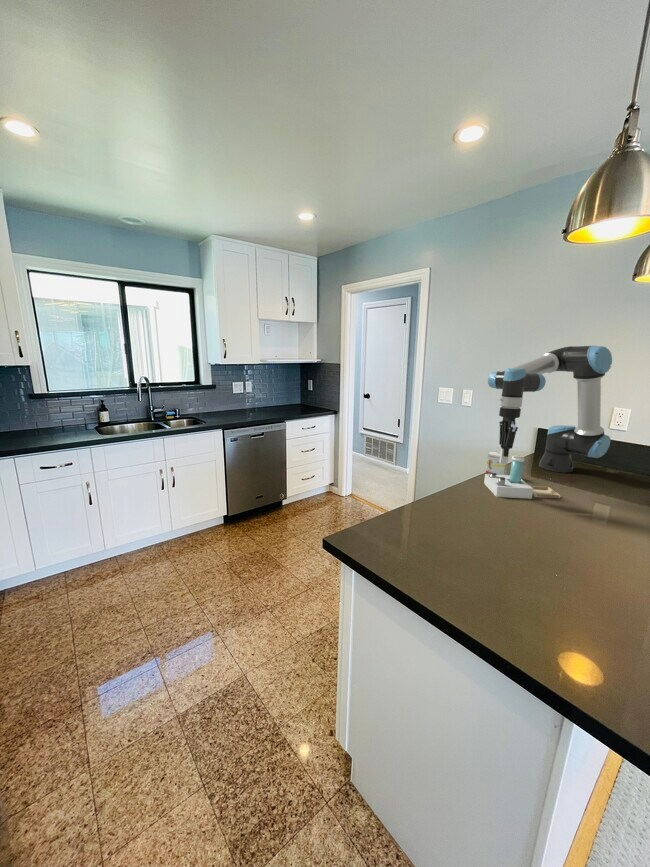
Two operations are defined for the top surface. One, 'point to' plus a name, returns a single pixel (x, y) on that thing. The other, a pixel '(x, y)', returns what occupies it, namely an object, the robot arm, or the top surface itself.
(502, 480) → the plunger
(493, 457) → the ink box
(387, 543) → the top surface
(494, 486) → the housing
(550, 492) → the tray
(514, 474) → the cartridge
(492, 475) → the plunger
